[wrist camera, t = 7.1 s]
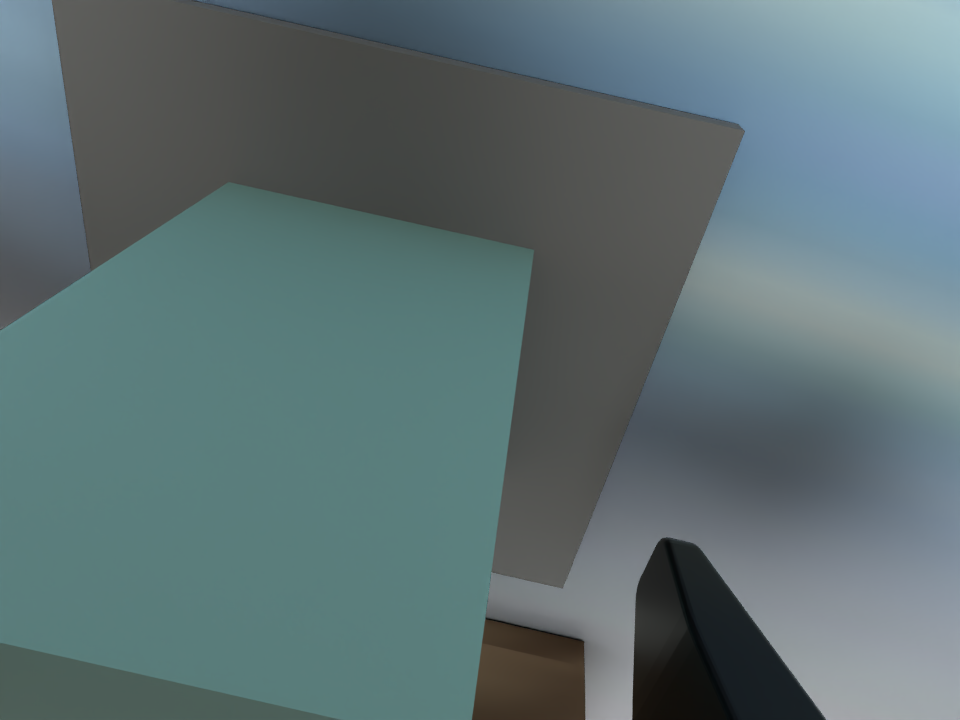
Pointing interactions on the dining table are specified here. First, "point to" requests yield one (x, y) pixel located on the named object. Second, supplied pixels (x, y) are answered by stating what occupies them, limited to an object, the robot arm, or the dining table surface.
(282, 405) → the block
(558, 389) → the mat
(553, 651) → the crate
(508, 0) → the dining table surface
